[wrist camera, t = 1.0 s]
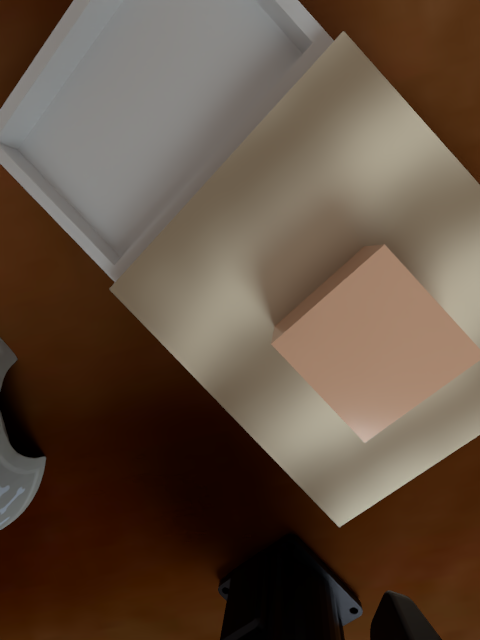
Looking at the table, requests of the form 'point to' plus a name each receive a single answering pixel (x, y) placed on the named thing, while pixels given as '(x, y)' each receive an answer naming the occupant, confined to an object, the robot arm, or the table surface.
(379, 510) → the table surface
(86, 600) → the table surface
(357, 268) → the tall peach block
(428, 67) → the table surface
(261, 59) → the bin
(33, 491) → the dog bowl
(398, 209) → the platform
